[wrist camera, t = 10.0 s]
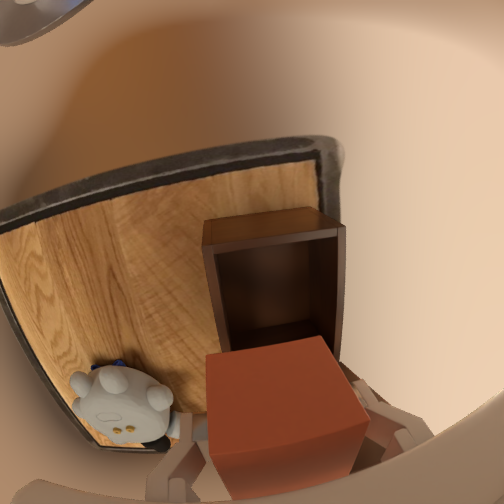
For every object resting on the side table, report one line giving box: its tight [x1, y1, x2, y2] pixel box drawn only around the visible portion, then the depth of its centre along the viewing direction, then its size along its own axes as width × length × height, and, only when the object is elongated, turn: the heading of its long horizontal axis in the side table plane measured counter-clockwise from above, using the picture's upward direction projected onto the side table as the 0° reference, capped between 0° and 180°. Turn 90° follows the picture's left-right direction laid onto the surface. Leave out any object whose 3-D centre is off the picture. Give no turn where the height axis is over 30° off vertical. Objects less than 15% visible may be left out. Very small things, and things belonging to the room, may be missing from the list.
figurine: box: [70, 359, 181, 452], centre depth 33 cm, size 17×8×20 cm
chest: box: [202, 207, 346, 362], centre depth 28 cm, size 15×12×9 cm
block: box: [206, 335, 370, 500], centre depth 10 cm, size 5×5×5 cm
